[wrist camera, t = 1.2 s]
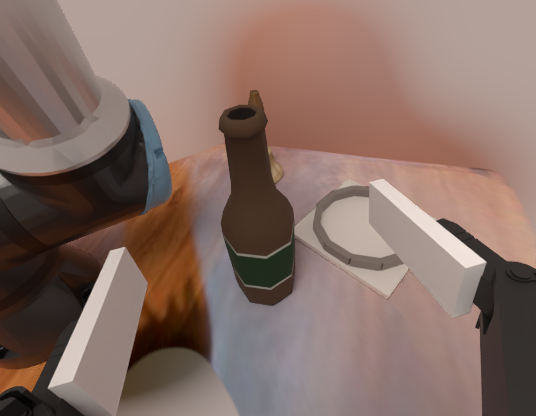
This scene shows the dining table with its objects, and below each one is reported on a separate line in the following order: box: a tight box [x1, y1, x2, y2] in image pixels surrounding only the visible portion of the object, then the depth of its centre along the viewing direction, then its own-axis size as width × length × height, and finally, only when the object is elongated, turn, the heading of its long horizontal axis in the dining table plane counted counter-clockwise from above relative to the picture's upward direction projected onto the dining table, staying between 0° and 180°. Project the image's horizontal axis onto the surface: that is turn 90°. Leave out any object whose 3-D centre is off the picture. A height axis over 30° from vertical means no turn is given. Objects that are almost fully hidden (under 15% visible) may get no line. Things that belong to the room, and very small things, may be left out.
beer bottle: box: [219, 105, 295, 306], centre depth 29 cm, size 8×8×24 cm
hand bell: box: [248, 90, 283, 183], centre depth 49 cm, size 8×8×16 cm
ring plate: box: [294, 179, 437, 300], centre depth 42 cm, size 16×16×2 cm
